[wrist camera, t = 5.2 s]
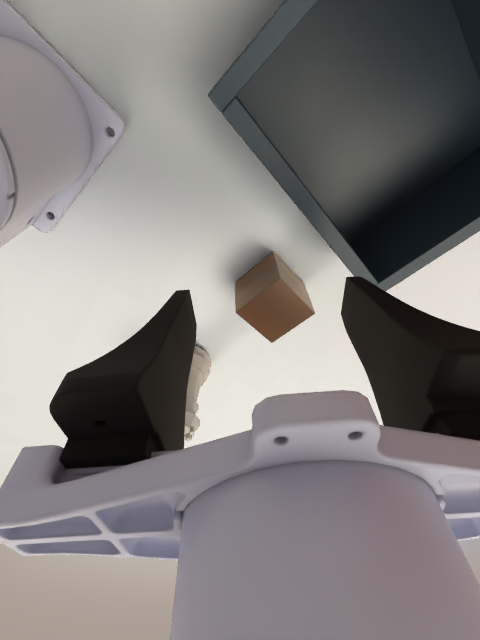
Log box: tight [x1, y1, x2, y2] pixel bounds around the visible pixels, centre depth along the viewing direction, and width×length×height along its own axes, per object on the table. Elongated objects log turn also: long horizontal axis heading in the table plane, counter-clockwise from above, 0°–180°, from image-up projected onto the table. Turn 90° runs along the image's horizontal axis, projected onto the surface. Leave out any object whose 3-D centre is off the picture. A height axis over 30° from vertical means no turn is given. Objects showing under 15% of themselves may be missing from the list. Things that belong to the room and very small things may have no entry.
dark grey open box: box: [208, 0, 480, 291], centre depth 16 cm, size 12×14×6 cm
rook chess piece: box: [184, 346, 211, 441], centre depth 27 cm, size 4×4×8 cm
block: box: [235, 252, 315, 343], centre depth 24 cm, size 4×4×4 cm
